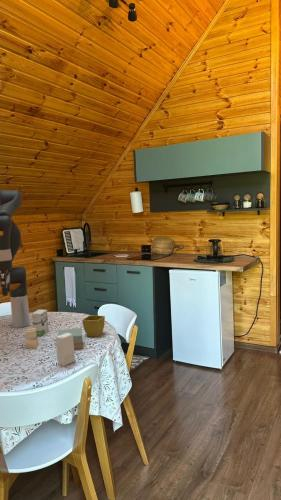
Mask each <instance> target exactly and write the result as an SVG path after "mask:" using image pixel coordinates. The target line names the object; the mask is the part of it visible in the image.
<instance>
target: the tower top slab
mask: <svg viewBox="0 0 281 500" xmlns="http://www.w3.org/2000/svg"><path fill="white" fill-rule="evenodd" d="M82 330H83V328H82V327H77V328H68V329H67V328H66V329H59V330H58V331H57V336H59V335H62V334H65V333H70V334H73V342H74V344H76V343H83V331H82ZM83 344H84V343H83Z"/></svg>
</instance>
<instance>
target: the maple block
mask: <svg viewBox="0 0 281 500" xmlns="http://www.w3.org/2000/svg"><path fill="white" fill-rule="evenodd" d="M24 333H25V342H26V343H25V345H26V349H36V348H38V345H39V343H38V336H37V331H36V328H33V327H32V328H26V329H25V332H24Z"/></svg>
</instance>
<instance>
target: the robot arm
mask: <svg viewBox="0 0 281 500" xmlns="http://www.w3.org/2000/svg"><path fill="white" fill-rule="evenodd" d="M22 203H23V197H22V192H21V191H20V190H15V189H7V190H6V189H3V190H0V232H2V234H1V235H0V288H1V294H2V296H3V297H6V296H8V295H9V299H10V310H11V319H12V320H11V321H12V327H13V328H15V329H17V328H19V329H20V328H26V327H29V326H30V325H31V321H30V320H31V319H30V309H29V308H30V307H29V298H28V286H27V284H28V283H27V282H28V281H27V270H26V268H25V267H24V265H23V266H15V267H13V261H14V259H15V256H16V255H17V254H18V252H19V250H20V248H21V245H22V233H21V230H20V228H19V227H18V225H17V224H16V223H15V221H14V220H13V219H12V218H13V215H14V213H15V212H16V211H18V210H19V209H20V208H21V206H22ZM18 284H19V285H18ZM12 285H18V286H16V287H15V288H14V289H11V286H12Z"/></svg>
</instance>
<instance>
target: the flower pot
mask: <svg viewBox="0 0 281 500" xmlns="http://www.w3.org/2000/svg"><path fill="white" fill-rule="evenodd" d="M105 317H106V316H105V315H94V314H89V315H88V316H86V317H85V318H83V319H81V322H82V326H83V330H84V332H85V334H86V335H87V336H88V337H96V338H97V337H99V336H100V335H101V334H102V333H103V331H104V327H105V320H106V318H105Z"/></svg>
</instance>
